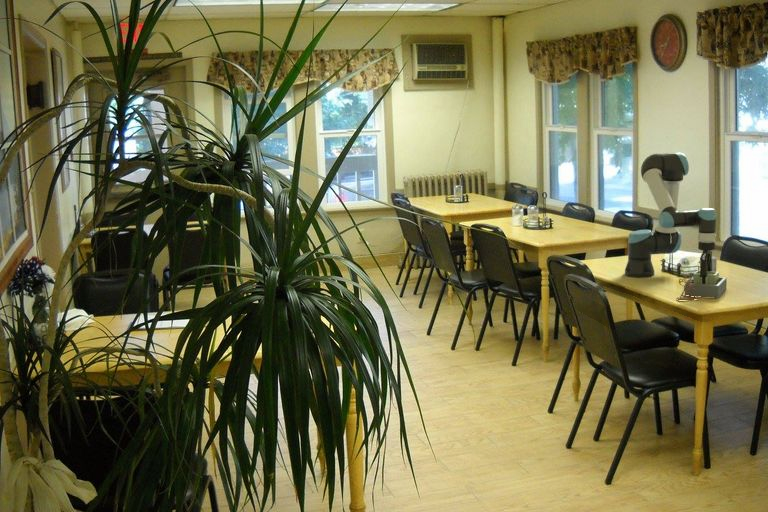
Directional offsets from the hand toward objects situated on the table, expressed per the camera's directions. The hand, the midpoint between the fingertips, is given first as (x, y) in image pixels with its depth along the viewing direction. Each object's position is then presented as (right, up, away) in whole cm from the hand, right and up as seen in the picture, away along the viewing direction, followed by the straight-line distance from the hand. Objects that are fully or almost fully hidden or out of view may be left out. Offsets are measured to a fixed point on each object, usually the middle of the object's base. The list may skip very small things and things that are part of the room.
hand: (705, 288), depth 425 cm
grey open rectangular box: (0, -2, 0) cm, 2 cm away
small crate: (0, 0, 0) cm, 0 cm away
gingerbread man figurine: (-13, -5, -12) cm, 18 cm away
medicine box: (+16, +6, +42) cm, 46 cm away
